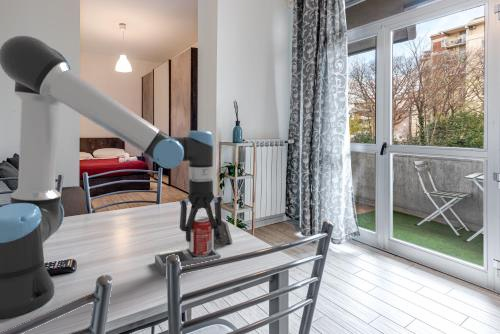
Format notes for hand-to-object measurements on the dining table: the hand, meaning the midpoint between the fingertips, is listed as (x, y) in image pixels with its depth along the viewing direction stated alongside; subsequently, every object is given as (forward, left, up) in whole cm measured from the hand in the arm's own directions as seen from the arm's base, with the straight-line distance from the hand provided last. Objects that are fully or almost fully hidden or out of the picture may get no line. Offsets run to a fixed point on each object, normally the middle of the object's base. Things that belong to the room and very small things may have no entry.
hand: (201, 248), depth 102 cm
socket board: (-4, 0, -4) cm, 6 cm away
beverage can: (0, 0, -2) cm, 2 cm away
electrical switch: (+13, +12, -4) cm, 18 cm away
